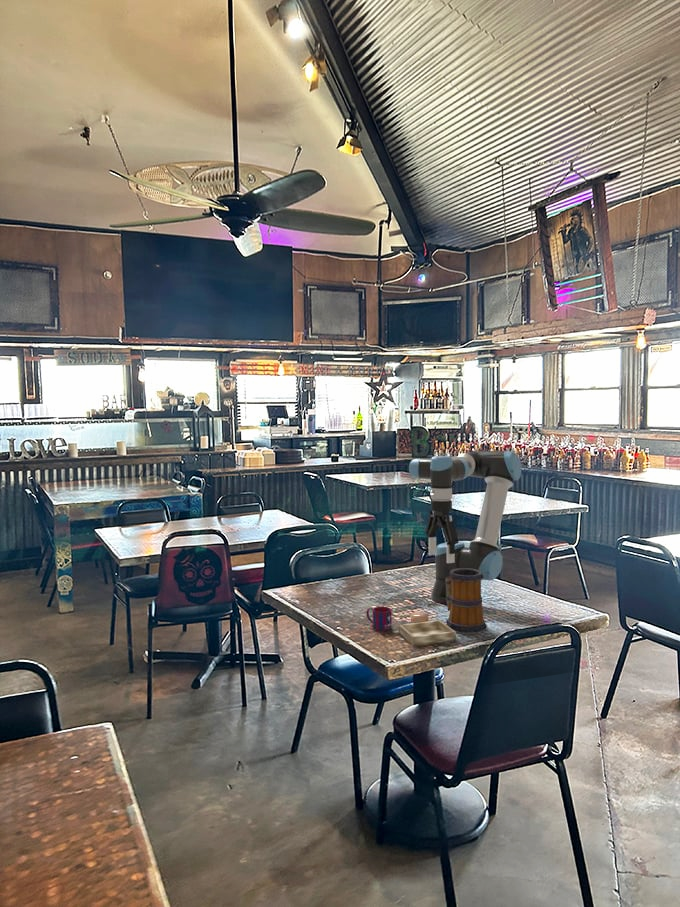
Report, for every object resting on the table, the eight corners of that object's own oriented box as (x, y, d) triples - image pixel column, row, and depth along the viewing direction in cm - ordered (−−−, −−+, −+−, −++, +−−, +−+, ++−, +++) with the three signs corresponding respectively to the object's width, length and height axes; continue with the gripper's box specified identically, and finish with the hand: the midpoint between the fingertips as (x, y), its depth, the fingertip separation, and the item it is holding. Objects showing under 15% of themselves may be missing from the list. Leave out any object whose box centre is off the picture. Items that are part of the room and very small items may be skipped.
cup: (383, 632, 221) (382, 613, 221) (362, 626, 229) (362, 607, 228) (395, 627, 226) (395, 609, 226) (374, 621, 233) (374, 603, 233)
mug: (430, 620, 234) (430, 566, 233) (463, 614, 240) (463, 562, 238) (460, 636, 216) (460, 579, 215) (495, 630, 222) (495, 574, 221)
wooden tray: (439, 628, 225) (439, 620, 224) (456, 640, 213) (456, 631, 212) (398, 633, 220) (398, 625, 220) (413, 646, 208) (412, 637, 208)
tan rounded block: (424, 620, 234) (424, 611, 233) (431, 626, 228) (431, 616, 227) (408, 622, 232) (407, 613, 232) (414, 628, 226) (414, 618, 225)
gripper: (416, 496, 236) (416, 552, 237) (449, 504, 212) (448, 567, 213) (434, 495, 238) (434, 551, 239) (468, 503, 215) (468, 565, 216)
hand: (441, 558), depth 226 cm, fingers open, 13 cm apart
